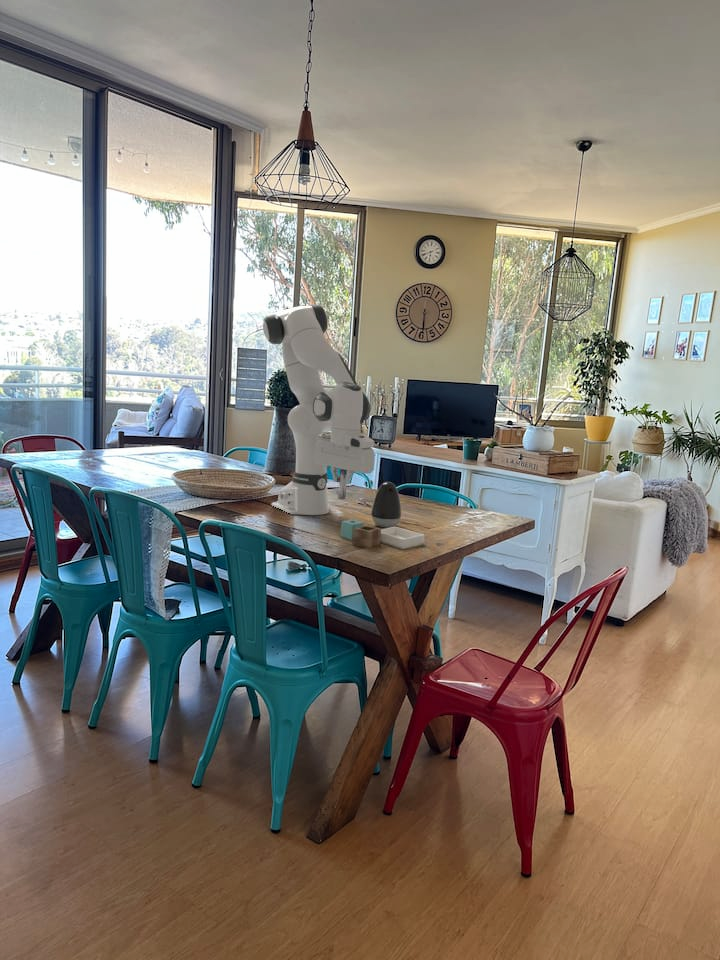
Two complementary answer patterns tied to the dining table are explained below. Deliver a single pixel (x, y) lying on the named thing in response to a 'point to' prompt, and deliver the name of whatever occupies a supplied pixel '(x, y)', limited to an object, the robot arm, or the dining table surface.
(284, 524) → the dining table surface
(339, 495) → the pin gauge
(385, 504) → the dark grey egg shape
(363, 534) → the walnut block
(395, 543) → the tray
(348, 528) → the teal block
